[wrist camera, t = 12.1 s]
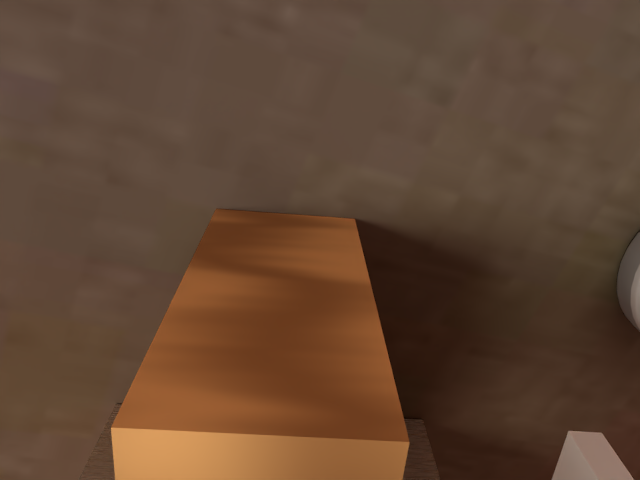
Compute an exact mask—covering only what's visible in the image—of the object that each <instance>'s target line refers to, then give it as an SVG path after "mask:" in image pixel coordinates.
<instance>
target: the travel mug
mask: <svg viewBox="0 0 640 480" xmlns="http://www.w3.org/2000/svg"><path fill="white" fill-rule="evenodd" d="M617 295H618V300H619V305H620V307H621V309H622V311H623V313H624V315H625V316H626V317H627V319H628V320H629V321H630V322H631V323H632V324H633V326H635V327H636V328H637V329H638V330H639V331H640V231H639V232H638V233H637V235H636V236H635V238H634V239H633V240H632V242H631V243H630V245H629V246H628V248H627V250H626V252H625V254H624V256H623V258H622V261H621V264H620V268H619V272H618V275H617Z"/></svg>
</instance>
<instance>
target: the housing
mask: <svg viewBox="0 0 640 480" xmlns="http://www.w3.org/2000/svg"><path fill="white" fill-rule="evenodd" d="M121 405H122V404H116V405H115V407H114V409H113V411H112V413H111V415H110V417H109V419H108V421H107V423H106V425H105V427H104V429H103V431H102V433H101V435H100V437H99V439H98V441H97V443H96V445H95V447H94V450H93V452H92V454H91V456H90V458H89V460H88V462H87V464H86V466H85V468H84V470H83V472H82V474H81V476H80V478H79V480H115V471H114V459H113V447H112V435H111V426H112V424H113V422H114V420H115V418H116V416H117V414H118V412H119V410H120V407H121ZM404 421H405V425H406V429H407V433H408V437H409V442H410V443H409V448H408V453H407V458H406V464H405V469H404V474H403V479H402V480H440V477H439V473H438V470H437V466H436V463H435V460H434V456H433V453H432V449H431V446H430V443H429V439H428V436H427V432H426V429H425V425H424V422H423V420H422V419H404Z"/></svg>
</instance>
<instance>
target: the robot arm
mask: <svg viewBox="0 0 640 480" xmlns="http://www.w3.org/2000/svg"><path fill="white" fill-rule="evenodd" d="M552 480H634V479H633V477H632V476H631V474H630V473H629V472H628V470H627V469H626V467H625V466H624V464H623V463H622V461H621V460H620V459H619V457H618V456H617V454H616V453H615V451H614V450H613V448H612V447H611V446H610V444H609V443H608V441H607V440H606V438H605V437H604V435H603V434H602V433H598V432H582V431H568V434H567V437H566V439H565V442H564V445H563V448H562V451H561V454H560V457H559V460H558V463H557V465H556V468H555V471H554V474H553V477H552Z"/></svg>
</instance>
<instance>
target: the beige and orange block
mask: <svg viewBox="0 0 640 480" xmlns="http://www.w3.org/2000/svg"><path fill="white" fill-rule="evenodd" d="M111 435H112V447H113V459H114V471H115V480H402V479H403V474H404V469H405V464H406V458H407V453H408V448H409V443H410V442H409V437H408V433H407V429H406V425H405V421H404V417H403V413H402V409H401V405H400V401H399V397H398V393H397V389H396V385H395V381H394V376H393V372H392V368H391V364H390V360H389V356H388V352H387V348H386V344H385V340H384V336H383V332H382V328H381V324H380V319H379V315H378V311H377V307H376V303H375V299H374V295H373V291H372V287H371V283H370V279H369V275H368V271H367V267H366V262H365V258H364V254H363V250H362V246H361V242H360V238H359V234H358V230H357V226H356V222H355V219H351V218H337V217H323V216H310V215H296V214H282V213H268V212H254V211H240V210H227V209H216V210H215V212H214V214H213V216H212V218H211V220H210V223H209V225H208V227H207V229H206V231H205V233H204V235H203V237H202V239H201V241H200V243H199V245H198V247H197V250H196V252H195V254H194V256H193V258H192V260H191V262H190V264H189V266H188V268H187V270H186V272H185V274H184V277H183V279H182V281H181V283H180V285H179V287H178V289H177V291H176V293H175V295H174V297H173V299H172V301H171V304H170V306H169V308H168V310H167V312H166V314H165V316H164V318H163V320H162V322H161V324H160V326H159V328H158V331H157V333H156V335H155V337H154V339H153V341H152V343H151V345H150V347H149V349H148V351H147V353H146V356H145V358H144V360H143V362H142V364H141V366H140V368H139V370H138V372H137V374H136V376H135V378H134V380H133V383H132V385H131V387H130V389H129V391H128V393H127V395H126V397H125V399H124V401H123V403H122V405H121V407H120V410H119V412H118V414H117V416H116V418H115V420H114V422H113V424H112V426H111Z"/></svg>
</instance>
